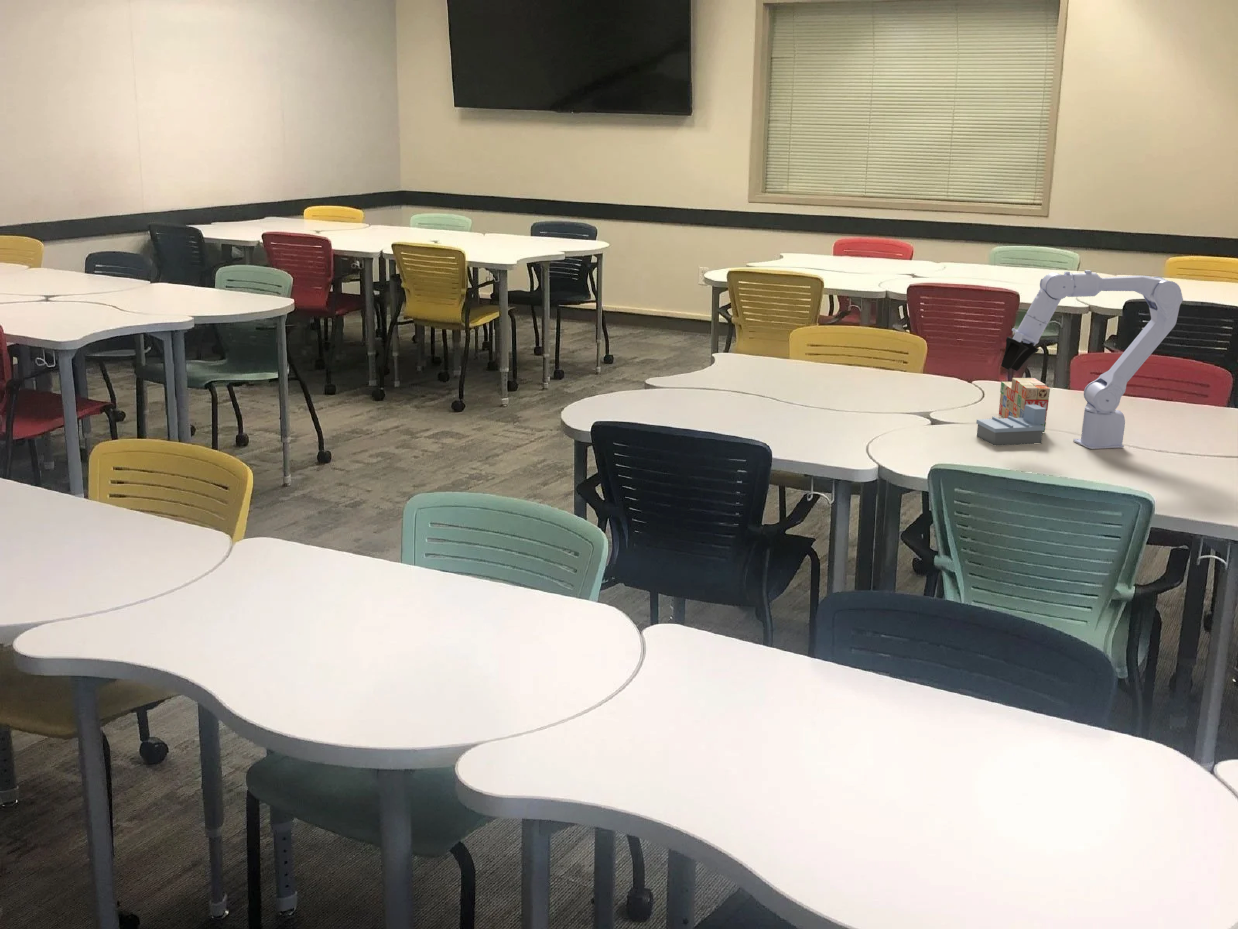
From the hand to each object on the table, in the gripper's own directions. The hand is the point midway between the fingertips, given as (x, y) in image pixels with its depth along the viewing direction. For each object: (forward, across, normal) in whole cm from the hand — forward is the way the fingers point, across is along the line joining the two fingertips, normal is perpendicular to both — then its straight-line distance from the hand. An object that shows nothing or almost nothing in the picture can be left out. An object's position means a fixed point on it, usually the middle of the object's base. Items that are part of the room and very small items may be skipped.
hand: (1009, 368), depth 298 cm
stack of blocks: (+14, -27, +3) cm, 30 cm away
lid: (+13, -6, +6) cm, 16 cm away
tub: (+16, -7, +7) cm, 19 cm away
